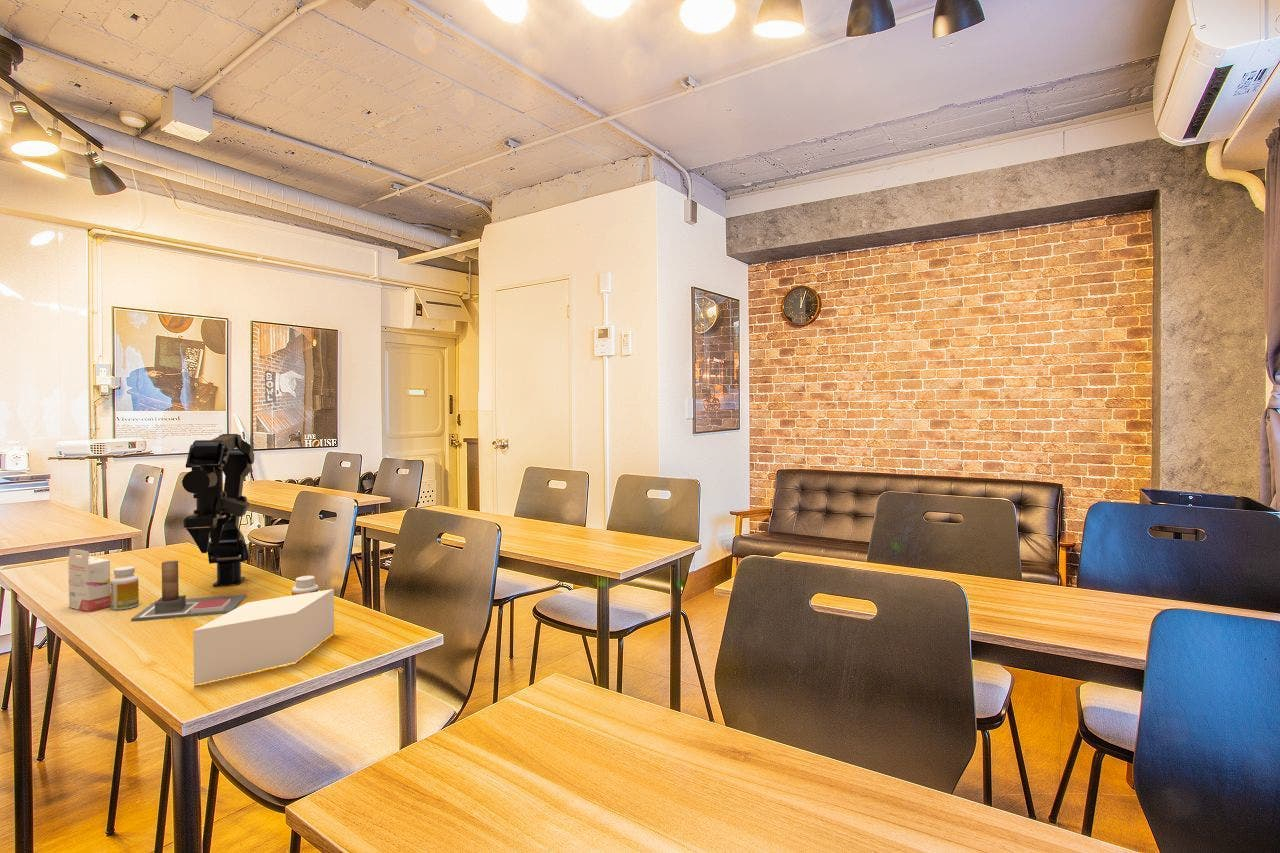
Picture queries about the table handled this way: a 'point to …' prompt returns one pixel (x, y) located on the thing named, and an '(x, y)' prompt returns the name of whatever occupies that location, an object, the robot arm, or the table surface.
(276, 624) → the cream slanted prism
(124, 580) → the supplement bottle
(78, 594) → the ink cartridge box
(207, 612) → the stamp board
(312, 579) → the supplement bottle
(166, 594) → the stamp
